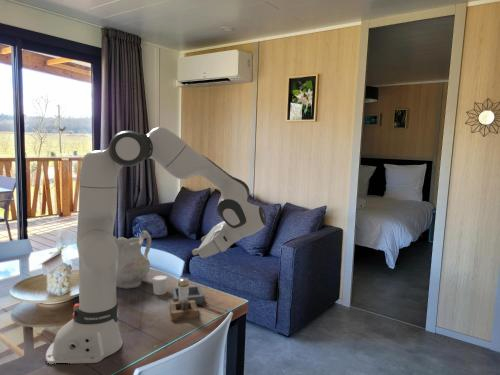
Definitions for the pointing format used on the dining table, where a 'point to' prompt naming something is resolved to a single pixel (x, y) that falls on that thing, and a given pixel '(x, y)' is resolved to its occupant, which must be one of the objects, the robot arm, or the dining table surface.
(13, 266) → the dining table surface
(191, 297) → the tray
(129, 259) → the ceramic pitcher
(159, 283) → the shot glass
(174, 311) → the socket block
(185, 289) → the steel pin
